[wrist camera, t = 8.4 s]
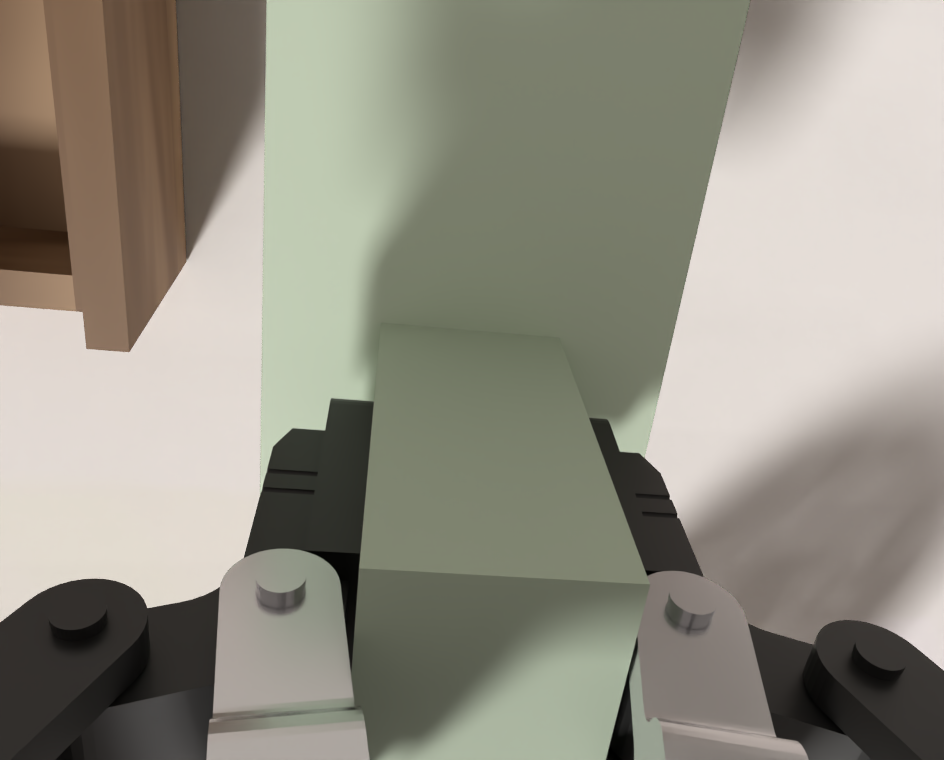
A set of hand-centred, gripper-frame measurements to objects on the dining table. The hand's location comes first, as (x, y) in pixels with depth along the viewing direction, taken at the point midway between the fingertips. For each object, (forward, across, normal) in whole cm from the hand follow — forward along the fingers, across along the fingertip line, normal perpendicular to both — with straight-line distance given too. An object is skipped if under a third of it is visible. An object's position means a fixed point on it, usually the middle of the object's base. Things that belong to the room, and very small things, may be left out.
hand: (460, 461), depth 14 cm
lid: (+3, 0, 0) cm, 3 cm away
